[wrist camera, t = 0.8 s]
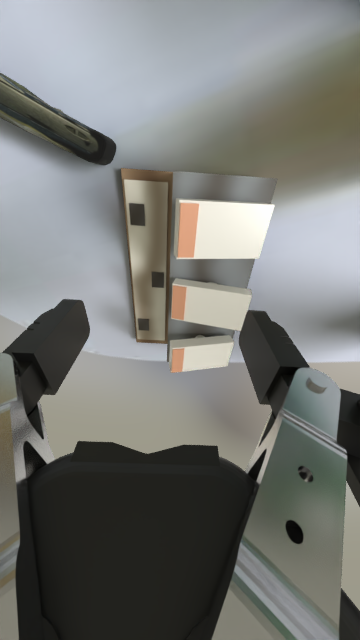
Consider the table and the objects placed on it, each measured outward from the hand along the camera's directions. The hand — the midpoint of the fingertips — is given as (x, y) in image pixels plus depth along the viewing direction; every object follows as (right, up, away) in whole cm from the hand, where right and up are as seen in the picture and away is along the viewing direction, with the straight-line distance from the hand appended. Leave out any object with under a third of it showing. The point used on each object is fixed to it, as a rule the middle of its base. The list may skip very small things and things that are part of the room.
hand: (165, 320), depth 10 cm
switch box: (+1, +7, +21) cm, 22 cm away
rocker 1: (+4, +10, +11) cm, 15 cm away
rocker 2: (+5, +3, +16) cm, 17 cm away
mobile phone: (-13, +21, +11) cm, 27 cm away
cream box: (+3, -4, +21) cm, 21 cm away
